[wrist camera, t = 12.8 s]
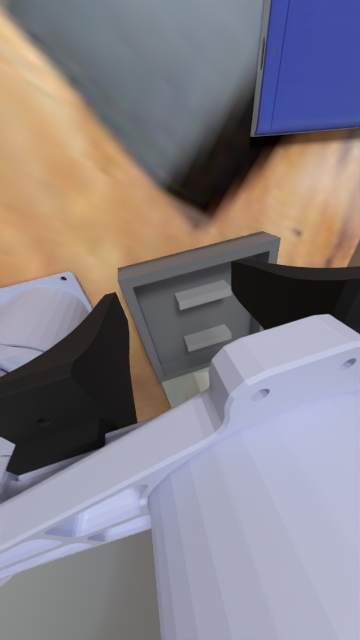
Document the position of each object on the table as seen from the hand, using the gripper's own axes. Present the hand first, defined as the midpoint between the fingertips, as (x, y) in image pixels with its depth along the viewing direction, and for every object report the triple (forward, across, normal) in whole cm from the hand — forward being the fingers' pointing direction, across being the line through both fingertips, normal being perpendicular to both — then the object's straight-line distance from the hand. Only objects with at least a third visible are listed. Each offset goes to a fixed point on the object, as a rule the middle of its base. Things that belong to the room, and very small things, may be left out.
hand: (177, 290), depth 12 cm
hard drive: (+10, -16, -10) cm, 22 cm away
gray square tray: (+9, -4, +9) cm, 14 cm away
